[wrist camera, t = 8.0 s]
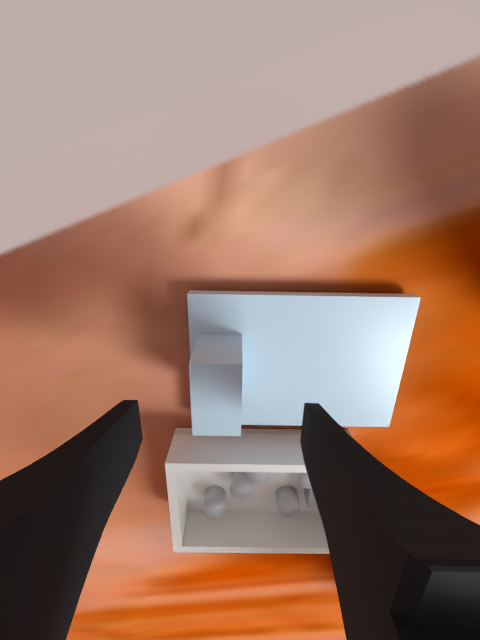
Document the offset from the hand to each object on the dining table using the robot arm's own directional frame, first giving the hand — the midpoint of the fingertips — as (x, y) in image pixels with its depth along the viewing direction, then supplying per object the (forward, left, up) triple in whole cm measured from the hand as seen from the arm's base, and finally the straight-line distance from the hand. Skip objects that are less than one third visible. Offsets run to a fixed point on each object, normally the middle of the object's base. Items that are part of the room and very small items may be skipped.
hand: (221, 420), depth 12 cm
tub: (-9, -2, -6) cm, 11 cm away
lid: (0, -4, -5) cm, 7 cm away
